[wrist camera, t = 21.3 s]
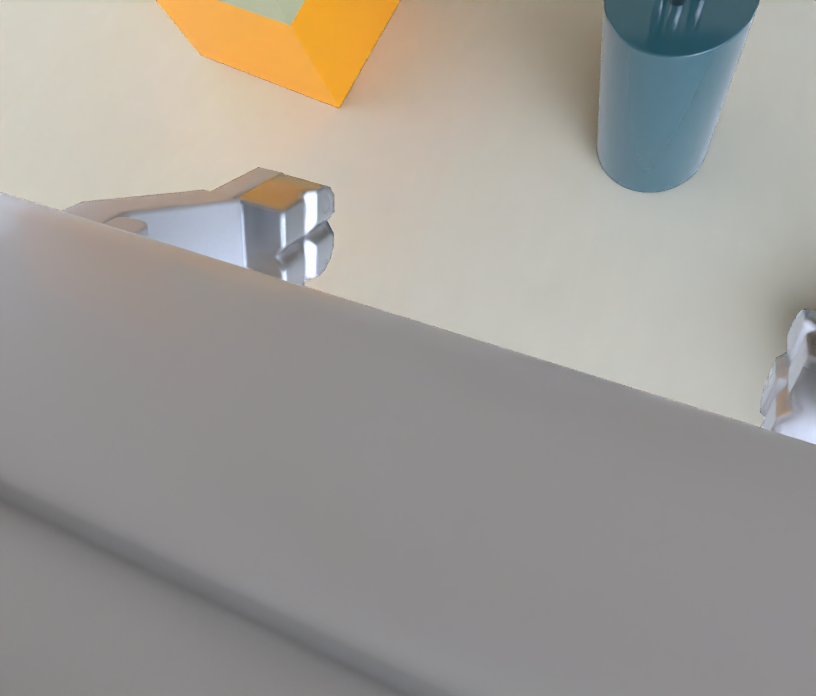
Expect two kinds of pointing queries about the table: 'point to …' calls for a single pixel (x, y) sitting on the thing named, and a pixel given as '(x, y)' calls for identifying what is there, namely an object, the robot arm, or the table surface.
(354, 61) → the orange juice
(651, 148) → the cutlery cup
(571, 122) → the table surface
